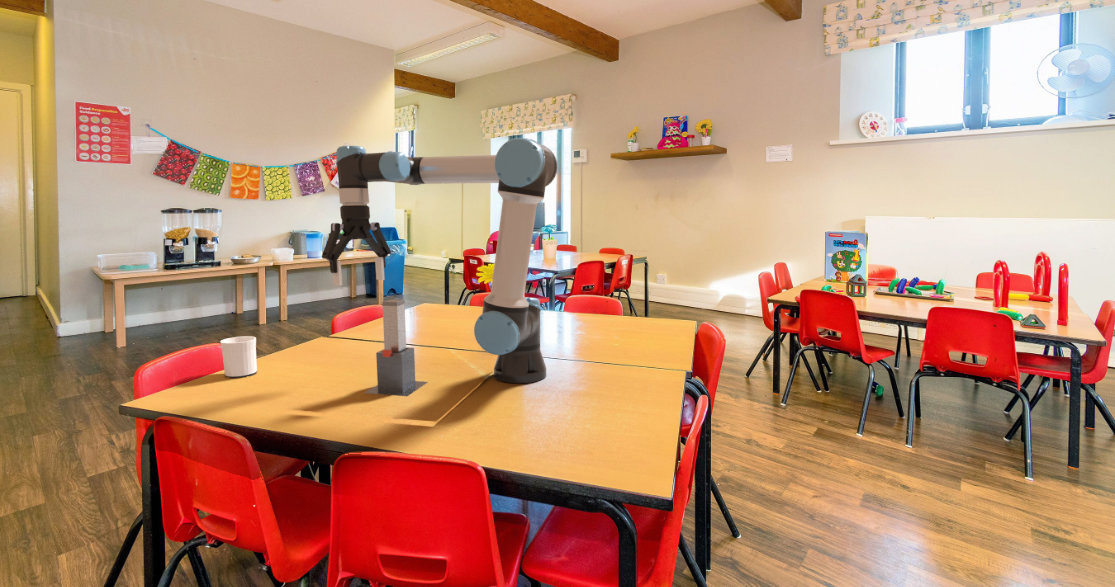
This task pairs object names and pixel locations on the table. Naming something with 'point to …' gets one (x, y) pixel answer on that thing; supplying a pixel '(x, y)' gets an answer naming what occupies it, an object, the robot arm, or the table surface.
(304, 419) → the table surface
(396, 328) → the column
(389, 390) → the stand housing
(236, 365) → the mug
